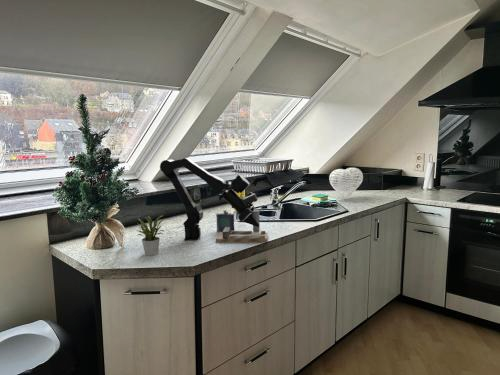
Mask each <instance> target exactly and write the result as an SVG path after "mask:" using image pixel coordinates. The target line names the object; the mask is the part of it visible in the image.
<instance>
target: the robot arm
mask: <svg viewBox="0 0 500 375" xmlns="http://www.w3.org/2000/svg"><path fill="white" fill-rule="evenodd" d="M180 168H185V169H187V170H188V171H189V172H190V173H192V174H194V175H195V176H197V177H199V179H201V180H203V181H204V182H205V183H206V184H207V186H208V187H209V188H210V189H212V190H213V192H215V193H219V194H218V201H222V199H223V200H225V201H226V202H227V203H228V204H229V205H230V206H231V208H232V209H234V210H235V211H236V212H237V214H238V215H237V216H238V217H237V218H238V220H239V221H240V222H242V223H246V224H249V225H252V226H253V225H254V226H256V227H259V226H260V225H259V224H258V222H257V221H256V220H255V218H254V217H253V211H255V205H254V204H253V203H255V202H258V197H257V194H256V193H255V192H254V193H253V192H251V191H250V192H248V194H247V196H246V197H243V196H240V195H239V193H240V194H242V193H243V192H244V191H246V189H247V188H248V187H249V186H250V184H251V183H250V182H249V181H248V180H247V178H245V177H243V176H242V175H241V174H238V175H236V177H235V178H234V179H233V180H232V181H227V180H225V179H224V178H222V177H219V176H217V175H215V174H212V173H210V172H209V171H207V170H206V169H204V168H203V167H201V166H200V165H198V164H197V163H196V162H194V161H193V160H192V159H190V158H189V157H184V158H180V159H177V160H176V159H175V160H174V159H164V160H162V161H161V162H160V165H159V169H160V170H161V172H162V173H163V175H164V176H165V177H166V178H168V179H169V181H170V182H171V184H172V186H173V188H174V189H175V191H176V193H177V195H178V197H179V199H180V200H181V202H182V204H183V205H184V209H185V214H186V218H187V219H186V220H185V221H184V222H182V223H183V224H182V225H183V226H184V227H183V228H184V236H185V237H184V238H183V239H184V241H198V240H199V239H200V238H201V237H202V235H201V234H202V231H201V227H200V222H201V221H202V219H203V218H204V210H203V209H202V207H201V204H200V203H198V204H196V203H195V202H194V200H193V199H192V197H191V194H190V193H189V191H188V190H187V187H186V186H185V184H184V181H183V180H182V179H181V176H180V172H179V169H180ZM229 188H230V189H229ZM221 192H222V193H221ZM259 222H261V219H260V218H259ZM260 227H261V226H260Z"/></svg>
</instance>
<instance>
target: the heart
mask: <svg viewBox="0 0 500 375" xmlns="http://www.w3.org/2000/svg"><path fill="white" fill-rule="evenodd" d="M363 174H364V173H363V172H362V171H361V169H360V168H357V167H347V168H346V169H343V168H338V169H337V168H336V169H334V170H332V172H331V173H330V174H329V184H330V185H331V187H332V188H333V189H334V190H335V192H337V193H338V195H339V196H340V197H341V198H342V199H343V200H348V199H350V197H351V196H352V195H353V194H354V192H356V190H357V189H358V188H359V187H360V185H362V182H363V180H364V175H363Z"/></svg>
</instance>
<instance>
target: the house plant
mask: <svg viewBox="0 0 500 375" xmlns="http://www.w3.org/2000/svg"><path fill="white" fill-rule="evenodd" d="M161 217H164V214H163V215H160V216H158V217H157V218H156V219H155V220H154V222H153V220H152V217H150V216H149V215H148V216H147V218H146V220H147V222H148V225H147V224H146V223H145V222H144V221H143V220H141V219H140V218H137V220H138V221H139V222H140V223H141V224H139V223H138V225H139V226H140V229H141V230H136V232H139V233H137V236H142V237H143V238H142V239H141V242H142V246H143V251H144V254H145V256H155V255H157V254H158V253H159V248H160V247H159V246H160V237H159V236H156V235H164V234H163V232H165V230H164V229H161V227H162V225H160V224H161V223H162V222H164V221H165V220H166V218H164V219H161V220H160V218H161ZM148 226H149V228H148Z"/></svg>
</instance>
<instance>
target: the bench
mask: <svg viewBox="0 0 500 375" xmlns="http://www.w3.org/2000/svg"><path fill="white" fill-rule="evenodd" d="M268 236H269V235H268V232H266V230H261V235H252V230H234V231H231V232H230V227H225V228H224V230H223V232H218V234H217V236H216V238H215V243H268Z"/></svg>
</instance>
